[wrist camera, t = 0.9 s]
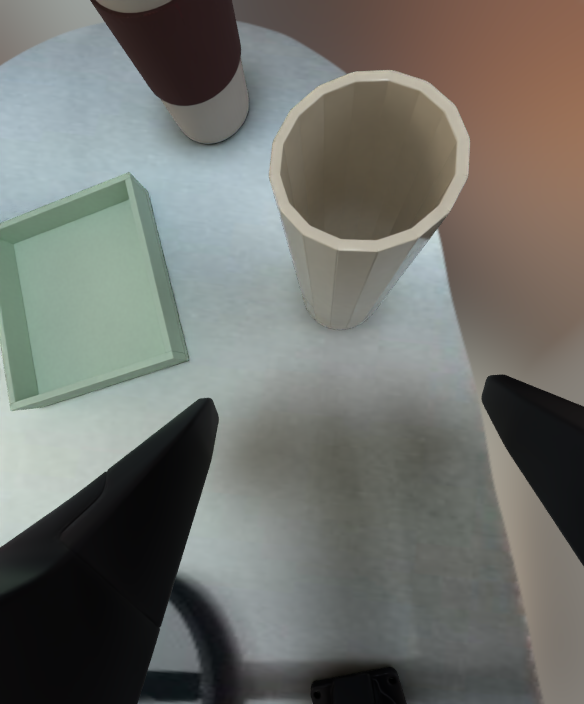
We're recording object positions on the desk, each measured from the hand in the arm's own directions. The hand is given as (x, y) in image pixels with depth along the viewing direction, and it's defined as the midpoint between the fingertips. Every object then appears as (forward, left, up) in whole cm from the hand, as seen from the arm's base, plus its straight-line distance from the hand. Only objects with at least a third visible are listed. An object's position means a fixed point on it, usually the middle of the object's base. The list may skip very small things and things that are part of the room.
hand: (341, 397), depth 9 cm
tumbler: (+7, -3, -13) cm, 15 cm away
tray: (+14, +19, -13) cm, 27 cm away
